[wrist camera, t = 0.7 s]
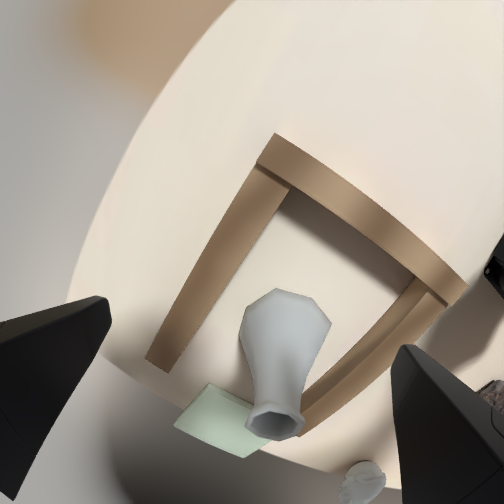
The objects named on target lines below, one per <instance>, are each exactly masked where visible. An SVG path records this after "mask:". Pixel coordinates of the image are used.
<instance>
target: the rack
mask: <svg viewBox="0 0 504 504" xmlns="http://www.w3.org/2000/svg"><path fill="white" fill-rule="evenodd" d="M292 185H293V186H295V187H296V188H298V189H299V190H301V191H302V192H304V193H305V194H307V195H308V196H310V197H311V198H313V199H314V200H316V201H317V202H319V203H320V204H322V205H323V206H324V207H326V208H327V209H329V210H330V211H332V212H333V213H334V214H336V215H337V216H339V217H340V218H341V219H343V220H344V221H346V222H347V223H348V224H350V225H351V226H353V227H354V228H355V229H357V230H358V231H359V232H361V233H362V234H363V235H365V236H366V237H367V238H369V239H370V240H371V241H373V242H374V243H375V244H377V245H378V246H379V247H381V248H382V249H383V250H384V251H386V252H387V253H388V254H390V255H391V256H392V257H393V258H395V259H396V260H397V261H398V262H400V263H401V264H402V265H403V266H405V267H406V268H407V269H408V270H410V271H411V272H412V273H413V274H415V275H416V277H415V279H414V280H413V281H412V282H411V283H410V285H409V286H408V287H407V288H406V290H405V291H404V292H403V293H402V294H401V296H400V297H399V298H398V299H397V300H396V301H395V303H394V304H393V305H392V306H391V307H390V308H389V309H388V311H387V312H386V313H385V314H384V315H383V316H382V317H381V318H380V319H379V321H378V322H377V323H376V324H375V325H374V326H373V327H372V328H371V329H370V330H369V331H368V332H367V333H366V334H365V335H364V337H363V338H362V339H361V340H360V341H359V342H358V343H357V344H356V345H355V346H354V347H353V348H352V349H351V350H350V351H349V352H348V353H347V354H346V355H345V356H344V357H343V358H342V359H340V360H339V361H338V362H337V363H336V364H335V365H334V366H333V367H332V368H331V369H330V370H329V371H328V372H327V373H326V374H324V375H323V376H322V377H321V378H320V379H319V380H318V381H317V382H316V383H314V384H313V385H312V386H311V387H310V388H309V389H308V390H306V391H305V392H304V393H303V394H302V396H301V403H300V414H301V415H302V416H303V417H304V418H305V425H304V426H303V428H302V429H301V431H300V432H299V434H298V435H297V436H298V437H301V436H302V435H304V434H305V433H307V432H308V431H310V430H311V429H313V428H314V427H316V426H317V425H318V424H320V423H321V422H323V421H324V420H325V419H327V418H328V417H330V416H331V415H332V414H334V413H335V412H336V411H338V410H339V409H340V408H341V407H343V406H344V405H345V404H347V403H348V402H349V401H350V400H352V399H353V398H354V397H355V396H357V395H358V394H359V393H360V392H361V391H363V390H364V389H365V388H366V387H367V386H368V385H370V384H371V383H372V382H373V381H374V380H375V379H377V378H378V377H379V376H380V375H381V374H382V373H383V372H384V371H385V370H387V369H388V368H389V367H390V366H391V365H392V363H393V361H394V359H395V357H396V354H397V352H398V350H399V348H400V346H401V345H403V344H413V343H414V342H415V341H416V340H417V339H418V338H419V337H420V336H421V335H422V334H423V333H424V332H425V331H426V329H427V328H428V327H429V326H430V325H431V324H432V323H433V322H434V321H435V319H436V318H437V317H438V316H439V315H440V314H441V313H442V311H443V310H444V309H445V308H446V307H447V305H448V304H450V305H451V306H453V305H454V303H455V302H456V301H457V300H458V299H459V297H460V296H461V295H462V294H463V292H464V291H465V290H466V288H467V287H468V285H467V284H466V282H465V281H464V280H463V279H462V278H461V277H460V276H459V275H458V274H457V273H456V272H455V271H454V270H453V269H451V268H450V267H449V266H448V265H447V264H446V263H445V262H444V261H443V260H442V259H441V258H440V257H439V256H438V255H437V254H436V253H435V252H434V251H432V250H431V249H430V248H429V247H428V246H427V245H426V244H425V243H424V242H422V241H421V240H420V239H419V238H418V237H417V236H416V235H415V234H413V233H412V232H411V231H410V230H409V229H408V228H406V227H405V226H404V225H403V224H402V223H400V222H399V221H398V220H397V219H396V218H394V217H393V216H392V215H391V214H390V213H388V212H387V211H386V210H385V209H383V208H382V207H381V206H380V205H378V204H377V203H376V202H374V201H373V200H372V199H371V198H369V197H368V196H367V195H365V194H364V193H363V192H361V191H360V190H359V189H357V188H356V187H355V186H353V185H352V184H351V183H349V182H348V181H347V180H345V179H344V178H342V177H341V176H340V175H338V174H337V173H335V172H334V171H333V170H331V169H330V168H328V167H327V166H325V165H324V164H322V163H321V162H320V161H318V160H317V159H315V158H314V157H312V156H311V155H309V154H308V153H306V152H305V151H303V150H301V149H300V148H298V147H297V146H295V145H294V144H292V143H290V142H289V141H287V140H286V139H284V138H282V137H281V136H279V135H278V134H276V133H274V134H273V136H272V137H271V139H270V141H269V142H268V144H267V145H266V147H265V148H264V150H263V151H262V153H261V155H260V156H259V158H258V159H257V161H256V164H255V166H254V167H253V169H252V170H251V172H250V174H249V175H248V177H247V178H246V180H245V182H244V183H243V185H242V187H241V188H240V190H239V191H238V193H237V195H236V196H235V198H234V200H233V201H232V203H231V205H230V206H229V208H228V210H227V211H226V213H225V215H224V216H223V218H222V220H221V221H220V223H219V225H218V226H217V228H216V230H215V231H214V233H213V235H212V237H211V238H210V240H209V242H208V243H207V245H206V247H205V249H204V250H203V252H202V254H201V256H200V257H199V259H198V261H197V263H196V264H195V266H194V268H193V270H192V271H191V273H190V275H189V277H188V278H187V280H186V282H185V284H184V286H183V287H182V289H181V291H180V293H179V295H178V296H177V298H176V300H175V302H174V304H173V306H172V307H171V309H170V311H169V313H168V315H167V317H166V319H165V320H164V322H163V324H162V326H161V328H160V330H159V332H158V334H157V335H156V337H155V339H154V341H153V343H152V345H151V347H150V349H149V351H148V353H147V355H146V357H145V359H146V360H148V361H149V362H151V363H152V364H154V365H155V366H157V367H159V368H160V369H162V370H163V371H165V372H167V373H169V372H170V370H171V369H172V367H173V366H174V364H175V362H176V361H177V359H178V358H179V356H180V355H181V353H182V352H183V350H184V349H185V347H186V346H187V344H188V343H189V341H190V340H191V338H192V337H193V335H194V334H195V332H196V331H197V329H198V327H199V326H200V324H201V323H202V321H203V320H204V318H205V317H206V315H207V314H208V312H209V311H210V309H211V308H212V306H213V305H214V303H215V302H216V300H217V299H218V297H219V296H220V294H221V293H222V291H223V290H224V288H225V287H226V285H227V284H228V282H229V281H230V279H231V277H232V276H233V274H234V273H235V271H236V270H237V268H238V267H239V265H240V264H241V262H242V261H243V259H244V258H245V256H246V255H247V253H248V252H249V250H250V249H251V247H252V246H253V244H254V243H255V241H256V240H257V238H258V237H259V235H260V234H261V232H262V231H263V229H264V228H265V226H266V225H267V223H268V222H269V220H270V219H271V217H272V216H273V214H274V213H275V211H276V210H277V208H278V207H279V205H280V204H281V202H282V201H283V199H284V198H285V196H286V194H287V193H288V191H289V190H290V188H291V187H292Z"/></svg>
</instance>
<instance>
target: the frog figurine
mask: <svg viewBox="0 0 504 504" xmlns="http://www.w3.org/2000/svg"><path fill="white" fill-rule="evenodd" d="M385 484H386V475H385V473H383V472H382V471H381V469H380V467H379V466H378V465H377V464H376V463H374V462H370V461H363V462H359V463H357V464H355V465H354V466H352V467H351V468H350V469H349V471H348V472H347V473H346V475H345V480H344V481H343V482H342V484H341V486H342V487H340V490H339V493H338V496H339V500H340V502H341V503H342V504H368V503H369V502H370V501H371V500H372V499H373V498H374V497H376V496H377V495H378V494H379V493H380V491H381V490H382V488H383V487H384V486H385Z"/></svg>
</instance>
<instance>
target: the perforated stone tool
mask: <svg viewBox="0 0 504 504" xmlns="http://www.w3.org/2000/svg"><path fill="white" fill-rule="evenodd" d="M479 396H481V397H482V398H483V399H484V400H486V401H487V402H488V403H489V404H490V405H491V406H493V407H494V408H496V409H497V410H498V411H499V412H501V413H502V414H503V415H504V381H501V380H496V382H494V383H491V385H489V386H488V387H487V389H484V390H483V391H481V392H480V393H479Z"/></svg>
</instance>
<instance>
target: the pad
mask: <svg viewBox="0 0 504 504" xmlns="http://www.w3.org/2000/svg"><path fill="white" fill-rule="evenodd" d="M253 407H254V405H252V404H250V403H248V402H246V401H244V400H242V399H240V398H238V397H236V396H234V395H232V394H230V393H228V392H226V391H224V390H222V389H220V388H218V387H216V386H215V385H213V384H211V383H208V384H207V386H206V387H205V388H204V389H203V390H202V391H201V392H200V394H199V395H198V396H197V397H196V398H195V399H194V400H193V402H192V403H191V404H190V405H189V406H188V407H187V408H186V409H185V411H184V412H183V413H182V414H181V415H180V416H179V417H178V418H177V419H176V420H175V422H174V424H173V426H174V427H176V428H178V429H180V430H182V431H184V432H186V433H188V434H190V435H192V436H194V437H196V438H198V439H200V440H202V441H204V442H206V443H209V444H211V445H213V446H215V447H217V448H220V449H222V450H224V451H227V452H229V453H232V454H234V455H237V456H239V457H242V458H244V457H246V456H248V455H249V454H251V453H253V452H254V451H256V450H258V449H259V448H261V447H262V446H264V445H265V444H267V443H269V442H270V441H272V440H269V439H265V438H260V437H257V436H256V435H255V434H253V433H252V432H251V431H249V430H248V429H247V428H245V427H244V426H245V422H246V420H247V418H248V415H249V413H250V411H251V409H253Z"/></svg>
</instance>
